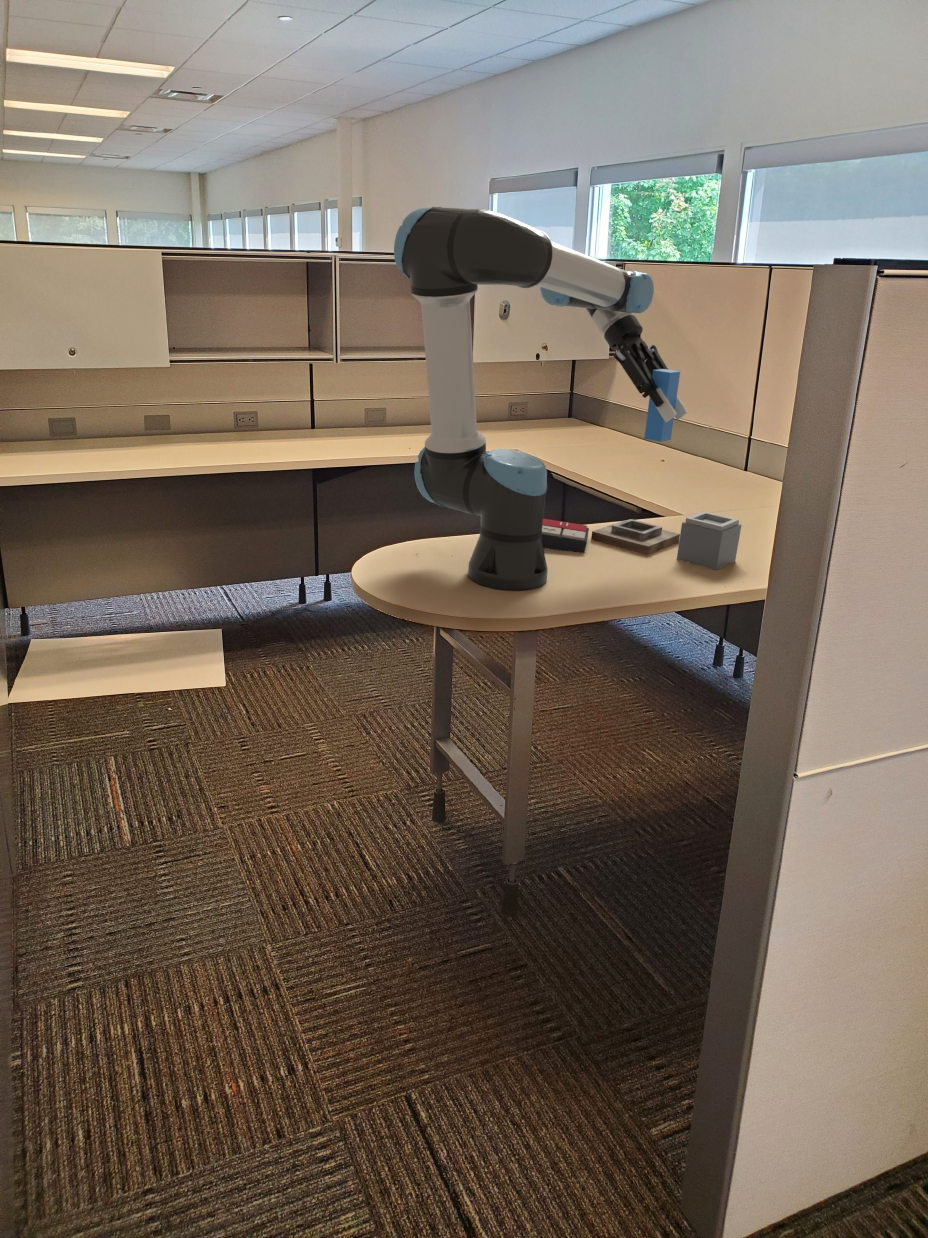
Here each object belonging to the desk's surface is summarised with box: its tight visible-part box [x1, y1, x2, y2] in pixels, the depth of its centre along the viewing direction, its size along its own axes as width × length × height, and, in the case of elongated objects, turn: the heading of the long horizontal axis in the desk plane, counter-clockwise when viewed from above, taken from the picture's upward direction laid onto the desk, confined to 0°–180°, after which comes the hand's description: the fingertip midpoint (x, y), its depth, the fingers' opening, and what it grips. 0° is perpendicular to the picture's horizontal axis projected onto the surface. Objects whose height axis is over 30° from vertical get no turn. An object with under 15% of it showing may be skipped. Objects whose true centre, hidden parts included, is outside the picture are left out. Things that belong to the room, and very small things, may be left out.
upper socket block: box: [676, 511, 742, 571], centre depth 195 cm, size 9×9×9 cm
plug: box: [643, 369, 681, 443], centre depth 194 cm, size 4×4×14 cm
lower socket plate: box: [590, 518, 680, 556], centre depth 206 cm, size 14×14×4 cm
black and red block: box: [541, 518, 590, 554], centre depth 202 cm, size 11×4×15 cm
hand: (676, 416), depth 192 cm, fingers closed on plug, 4 cm apart
